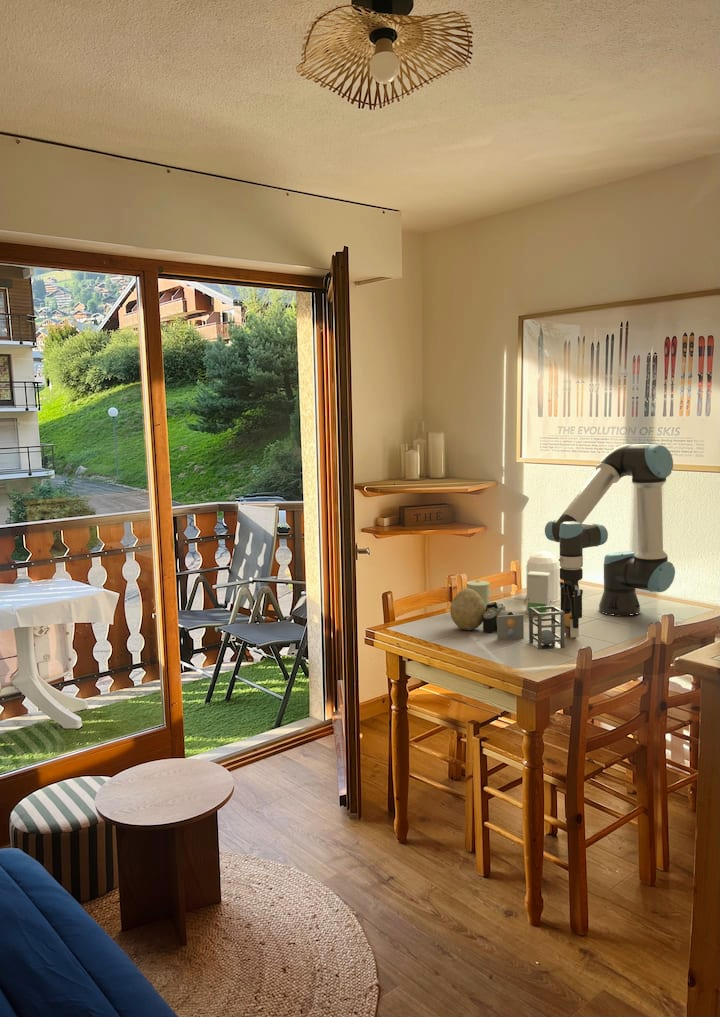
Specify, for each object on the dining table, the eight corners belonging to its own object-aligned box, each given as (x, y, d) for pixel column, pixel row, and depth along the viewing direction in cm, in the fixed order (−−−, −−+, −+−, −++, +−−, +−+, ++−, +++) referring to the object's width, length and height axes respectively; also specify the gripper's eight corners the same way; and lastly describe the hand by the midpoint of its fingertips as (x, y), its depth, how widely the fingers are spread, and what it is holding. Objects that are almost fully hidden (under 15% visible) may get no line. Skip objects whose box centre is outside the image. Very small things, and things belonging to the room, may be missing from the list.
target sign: (521, 638, 269) (521, 613, 268) (524, 640, 266) (524, 615, 265) (496, 640, 268) (496, 615, 267) (499, 642, 265) (499, 617, 264)
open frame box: (554, 642, 264) (554, 605, 262) (564, 650, 255) (564, 611, 253) (529, 644, 262) (529, 607, 261) (538, 651, 254) (538, 613, 252)
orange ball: (575, 624, 268) (575, 610, 268) (581, 628, 263) (581, 614, 263) (561, 626, 268) (561, 611, 267) (567, 629, 263) (567, 615, 262)
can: (489, 608, 312) (489, 579, 310) (491, 614, 303) (490, 584, 301) (466, 608, 313) (465, 579, 311) (467, 614, 304) (466, 584, 302)
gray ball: (550, 642, 261) (550, 627, 261) (556, 646, 256) (556, 631, 256) (536, 643, 261) (536, 628, 260) (542, 647, 256) (542, 632, 255)
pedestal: (574, 637, 269) (574, 625, 268) (580, 641, 264) (580, 628, 263) (560, 638, 268) (560, 626, 268) (566, 642, 263) (566, 629, 263)
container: (522, 595, 332) (522, 549, 329) (552, 594, 333) (552, 547, 331) (532, 603, 318) (532, 554, 316) (564, 601, 320) (564, 553, 318)
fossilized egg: (449, 625, 289) (448, 585, 287) (483, 624, 289) (483, 584, 287) (452, 634, 276) (451, 593, 275) (488, 633, 276) (487, 592, 274)
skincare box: (526, 613, 302) (525, 574, 300) (529, 609, 308) (528, 570, 307) (548, 615, 299) (548, 575, 297) (550, 610, 305) (550, 571, 303)
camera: (501, 637, 271) (501, 609, 270) (477, 634, 276) (477, 606, 275) (518, 627, 284) (518, 600, 282) (495, 623, 289) (495, 597, 287)
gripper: (550, 563, 271) (550, 628, 274) (571, 573, 254) (571, 643, 257) (570, 562, 272) (570, 626, 275) (593, 572, 255) (593, 641, 258)
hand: (571, 634), depth 266 cm, fingers closed on orange ball, 5 cm apart
